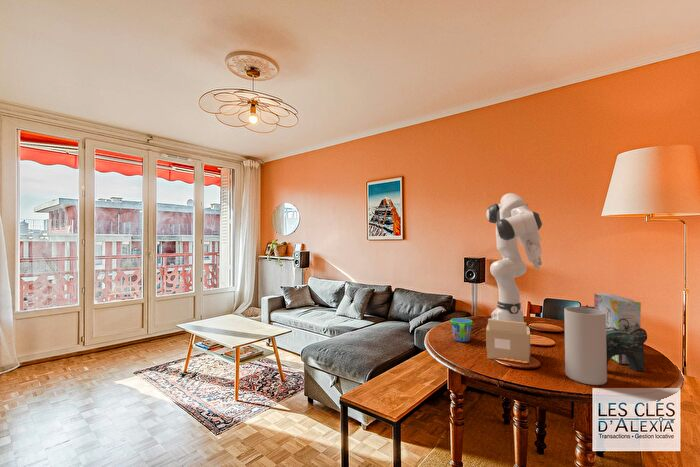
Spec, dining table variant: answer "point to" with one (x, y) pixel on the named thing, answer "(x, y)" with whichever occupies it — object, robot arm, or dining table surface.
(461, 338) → the snack cup
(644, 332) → the game controller
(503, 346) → the carton
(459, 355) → the dining table surface
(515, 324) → the flap
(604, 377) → the cylinder vase
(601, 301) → the snack box
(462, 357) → the dining table surface
